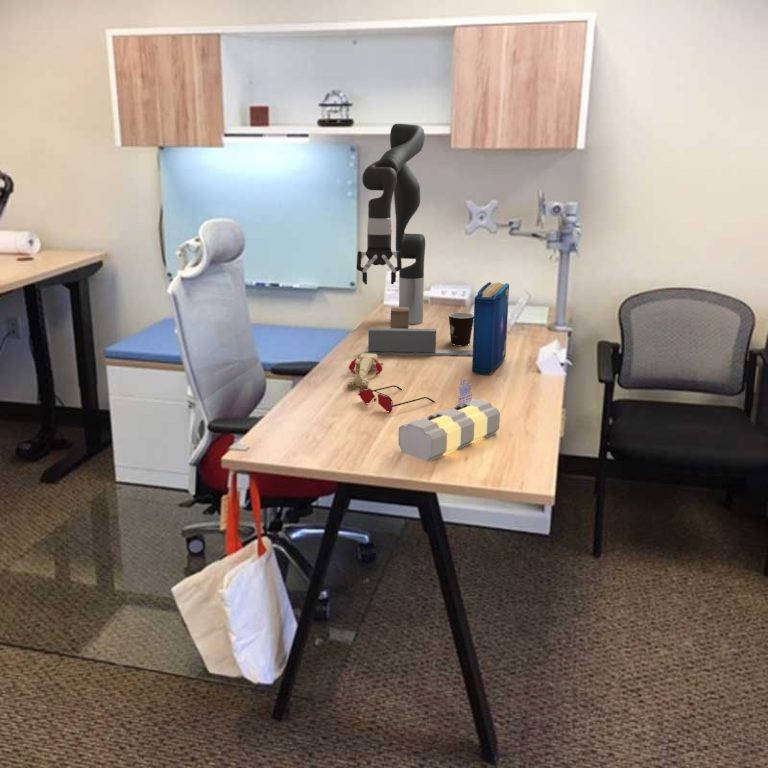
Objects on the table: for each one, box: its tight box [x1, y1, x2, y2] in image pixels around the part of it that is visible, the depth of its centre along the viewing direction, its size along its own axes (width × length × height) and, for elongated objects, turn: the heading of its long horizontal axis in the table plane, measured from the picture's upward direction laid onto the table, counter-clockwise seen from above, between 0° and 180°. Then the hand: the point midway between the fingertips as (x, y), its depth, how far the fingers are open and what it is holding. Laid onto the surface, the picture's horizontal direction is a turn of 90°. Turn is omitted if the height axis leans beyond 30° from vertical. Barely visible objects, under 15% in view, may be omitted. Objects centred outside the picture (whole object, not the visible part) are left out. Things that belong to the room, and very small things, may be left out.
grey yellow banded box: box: [398, 379, 501, 463], centre depth 193 cm, size 25×10×13 cm, turn 136°
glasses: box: [357, 385, 436, 412], centre depth 223 cm, size 14×16×5 cm
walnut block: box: [390, 306, 409, 329], centre depth 280 cm, size 6×6×12 cm
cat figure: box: [347, 352, 384, 391], centre depth 243 cm, size 10×9×25 cm
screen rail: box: [364, 348, 473, 357], centre depth 270 cm, size 4×40×1 cm, turn 88°
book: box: [471, 281, 510, 375], centre depth 252 cm, size 22×7×25 cm, turn 161°
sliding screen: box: [367, 327, 437, 352], centre depth 269 cm, size 3×22×7 cm, turn 88°
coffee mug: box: [448, 312, 474, 346], centre depth 282 cm, size 12×9×10 cm
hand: (378, 284), depth 262 cm, fingers open, 8 cm apart
